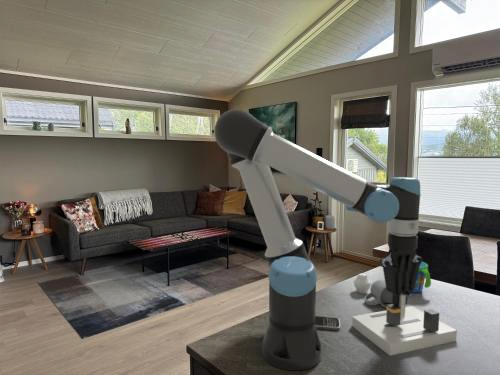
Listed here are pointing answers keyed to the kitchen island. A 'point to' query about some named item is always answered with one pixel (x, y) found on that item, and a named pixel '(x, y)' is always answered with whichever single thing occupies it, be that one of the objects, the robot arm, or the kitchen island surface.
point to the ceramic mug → (379, 294)
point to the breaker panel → (402, 331)
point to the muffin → (362, 283)
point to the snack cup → (422, 278)
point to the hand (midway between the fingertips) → (398, 315)
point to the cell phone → (327, 323)
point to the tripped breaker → (393, 315)
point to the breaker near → (431, 320)
